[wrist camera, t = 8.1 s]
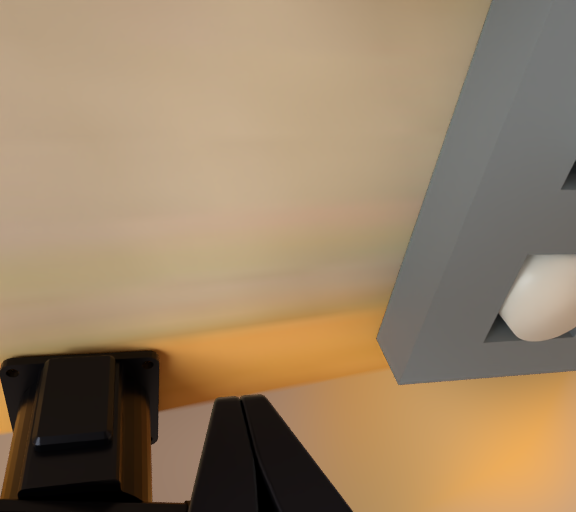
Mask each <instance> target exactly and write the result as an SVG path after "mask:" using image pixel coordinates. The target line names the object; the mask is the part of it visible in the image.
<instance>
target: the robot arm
mask: <svg viewBox="0 0 576 512" xmlns="http://www.w3.org/2000/svg"><path fill="white" fill-rule="evenodd" d="M146 361H151V362H146ZM11 369H15V370H11ZM0 379H1V383H2V387H3V391H4V396H5V400H6V404H7V408H8V413H9V417H10V421H11V426H12V430H13V437H12V442H11V447H10V452H9V458H8V462H7V467H6V472H5V477H4V482H3V487H2V492H1V496H0V512H353V511H352V510H351V508H350V507H349V506H348V504H346V502H345V500H344V499H343V498H342V496H341V495H340V494H339V493H338V491H337V490H336V489H335V487H334V486H333V485H332V483H331V482H330V481H329V479H328V478H327V477H326V475H325V474H324V473H323V472H322V470H321V469H320V468H319V466H318V465H317V464H316V462H315V461H314V460H313V458H312V457H311V456H310V454H309V453H308V452H307V450H306V449H305V448H304V447H303V445H302V444H301V443H300V442H299V440H298V439H297V437H296V436H295V435H294V433H293V432H292V431H291V430H290V428H289V427H288V426H287V424H286V423H285V422H284V420H283V419H282V418H281V416H280V415H279V414H278V412H277V411H276V410H275V408H274V407H273V406H272V405H271V403H270V402H269V401H268V399H267V398H266V397H265V396H264V395H261V394H256V395H244V396H241V397H240V399H239V398H238V397H236V396H231V397H219V398H216V400H215V402H214V405H213V409H212V413H211V418H210V422H209V426H208V430H207V434H206V438H205V442H204V447H203V451H202V455H201V459H200V463H199V467H198V472H197V476H196V480H195V485H194V488H193V492H192V497H191V501H185V502H184V503H165V502H163V503H162V502H152V467H151V445H152V444H154V443H155V442H156V441H157V439H158V404H159V356H158V354H157V353H156V352H153V351H133V352H115V353H97V354H78V355H60V356H42V357H23V358H10V359H7V360H5V361H3V363H2V364H1V368H0Z"/></svg>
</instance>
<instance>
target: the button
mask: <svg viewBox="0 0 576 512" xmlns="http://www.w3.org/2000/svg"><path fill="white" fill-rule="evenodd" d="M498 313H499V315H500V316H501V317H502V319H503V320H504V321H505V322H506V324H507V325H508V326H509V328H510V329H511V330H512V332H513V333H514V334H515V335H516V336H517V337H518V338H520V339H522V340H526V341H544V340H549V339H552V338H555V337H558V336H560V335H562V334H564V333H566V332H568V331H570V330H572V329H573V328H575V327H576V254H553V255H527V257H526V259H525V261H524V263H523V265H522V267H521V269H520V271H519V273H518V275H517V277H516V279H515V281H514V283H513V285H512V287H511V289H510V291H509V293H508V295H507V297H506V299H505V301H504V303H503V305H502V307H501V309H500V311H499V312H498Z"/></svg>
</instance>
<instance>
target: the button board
mask: <svg viewBox="0 0 576 512" xmlns="http://www.w3.org/2000/svg"><path fill="white" fill-rule="evenodd" d="M553 254H576V0H492V3H491V5H490V8H489V11H488V14H487V17H486V20H485V23H484V26H483V29H482V32H481V35H480V38H479V40H478V43H477V46H476V49H475V52H474V55H473V58H472V61H471V64H470V67H469V70H468V73H467V76H466V78H465V81H464V84H463V87H462V90H461V93H460V96H459V99H458V102H457V105H456V108H455V111H454V113H453V116H452V119H451V122H450V125H449V128H448V131H447V134H446V137H445V140H444V143H443V146H442V148H441V151H440V154H439V157H438V160H437V163H436V166H435V169H434V172H433V175H432V178H431V181H430V184H429V186H428V189H427V192H426V195H425V198H424V201H423V204H422V207H421V210H420V213H419V216H418V219H417V221H416V224H415V227H414V230H413V233H412V236H411V239H410V242H409V245H408V248H407V251H406V254H405V256H404V259H403V262H402V265H401V268H400V271H399V274H398V277H397V280H396V283H395V286H394V289H393V292H392V294H391V297H390V300H389V303H388V306H387V309H386V312H385V315H384V318H383V321H382V324H381V327H380V329H379V332H378V335H377V338H376V339H377V341H378V343H379V345H380V348H381V350H382V352H383V354H384V356H385V358H386V360H387V362H388V364H389V366H390V368H391V370H392V372H393V374H394V377H395V379H396V381H397V383H398V385H404V384H415V383H429V382H441V381H454V380H465V379H478V378H491V377H503V376H515V375H529V374H541V373H553V372H566V371H576V327H575V328H573V329H572V330H570V331H568V332H566V333H564V334H562V335H560V336H558V337H555V338H552V339H549V340H544V341H526V340H522V339H520V338H518V337H517V336H516V335H515V334H514V333H513V332H512V330H511V329H510V328H509V326H508V325H507V324H506V322H505V321H504V320H503V319H502V317H501V316H500V315H499V313H498V312H499V311H500V309H501V307H502V305H503V303H504V301H505V299H506V297H507V295H508V293H509V291H510V289H511V287H512V285H513V283H514V281H515V279H516V277H517V275H518V273H519V271H520V269H521V267H522V265H523V263H524V261H525V259H526V257H527V255H553Z"/></svg>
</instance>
